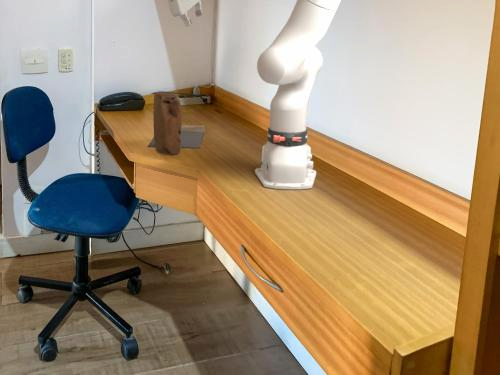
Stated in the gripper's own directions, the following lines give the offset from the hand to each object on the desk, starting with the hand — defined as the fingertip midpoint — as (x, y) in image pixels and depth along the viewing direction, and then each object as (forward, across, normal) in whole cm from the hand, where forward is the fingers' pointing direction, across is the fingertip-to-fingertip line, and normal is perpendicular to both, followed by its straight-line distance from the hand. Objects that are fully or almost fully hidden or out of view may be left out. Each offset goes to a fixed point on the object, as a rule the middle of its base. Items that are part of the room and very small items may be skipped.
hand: (194, 20), depth 196 cm
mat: (+41, -2, +21) cm, 46 cm away
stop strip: (+44, +9, +26) cm, 52 cm away
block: (+38, -19, +16) cm, 45 cm away
